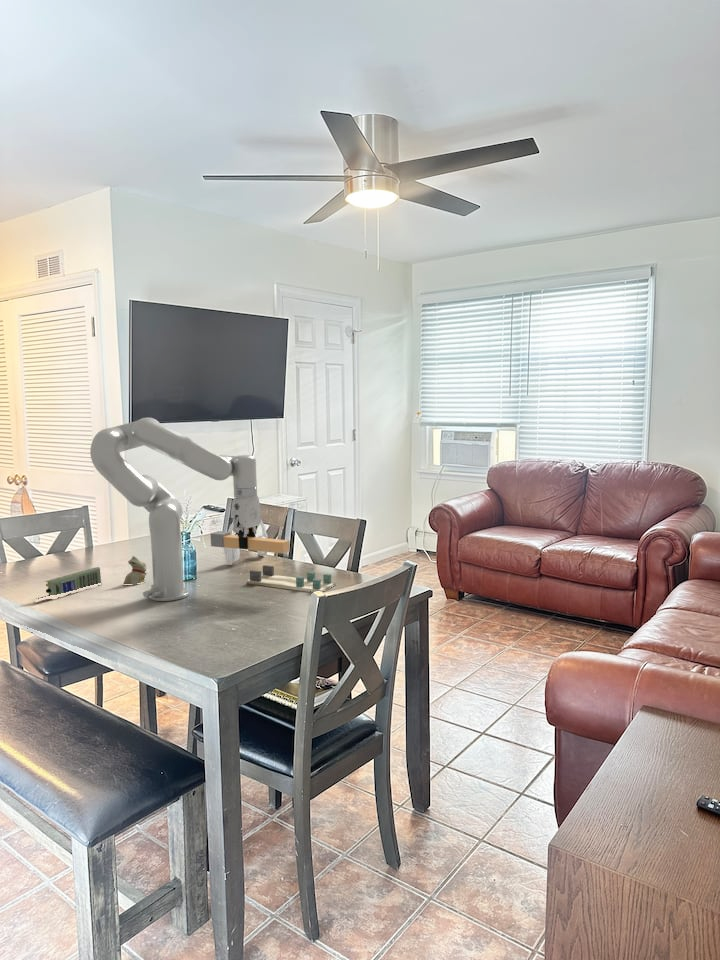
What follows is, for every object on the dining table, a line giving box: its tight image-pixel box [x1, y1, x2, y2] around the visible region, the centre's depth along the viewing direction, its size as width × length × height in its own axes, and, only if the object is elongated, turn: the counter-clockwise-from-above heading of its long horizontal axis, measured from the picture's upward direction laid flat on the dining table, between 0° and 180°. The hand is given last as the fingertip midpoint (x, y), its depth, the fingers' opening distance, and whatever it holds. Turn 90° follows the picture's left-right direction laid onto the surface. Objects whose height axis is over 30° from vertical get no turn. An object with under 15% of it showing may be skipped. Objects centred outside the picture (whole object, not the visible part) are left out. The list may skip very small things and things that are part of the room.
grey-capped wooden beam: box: [210, 530, 291, 554], centre depth 219 cm, size 4×29×4 cm, turn 63°
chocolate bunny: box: [123, 555, 147, 584], centre depth 233 cm, size 6×8×10 cm
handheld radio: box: [38, 567, 102, 599], centre depth 221 cm, size 7×3×25 cm
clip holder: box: [246, 564, 337, 593], centre depth 229 cm, size 10×30×4 cm, turn 64°
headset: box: [225, 519, 268, 566], centre depth 263 cm, size 20×7×18 cm, turn 141°
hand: (247, 546), depth 220 cm, fingers closed on grey-capped wooden beam, 3 cm apart
